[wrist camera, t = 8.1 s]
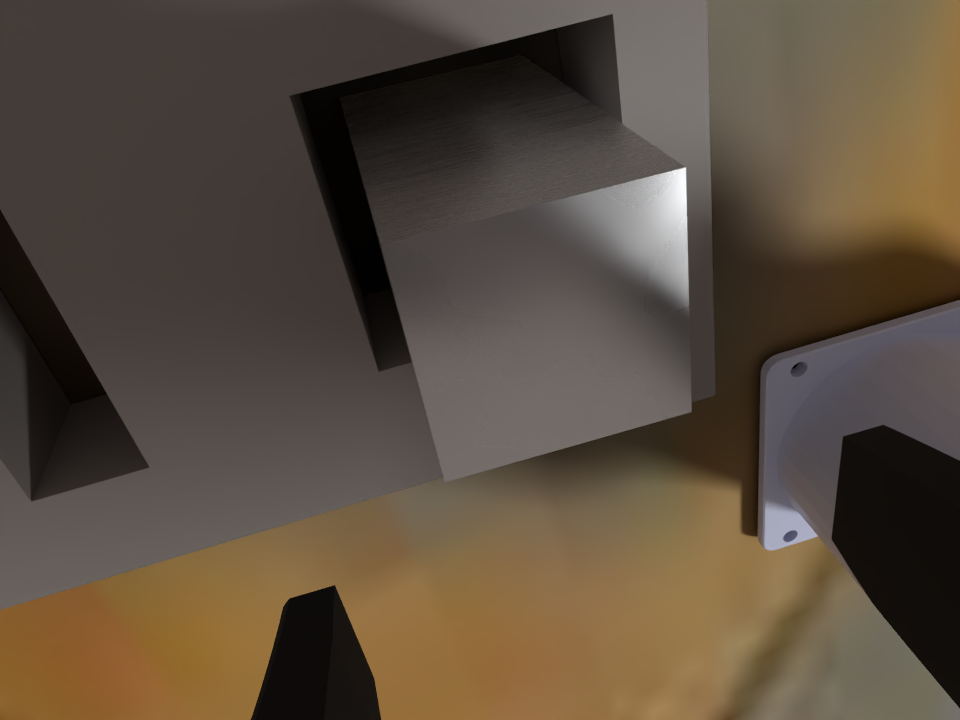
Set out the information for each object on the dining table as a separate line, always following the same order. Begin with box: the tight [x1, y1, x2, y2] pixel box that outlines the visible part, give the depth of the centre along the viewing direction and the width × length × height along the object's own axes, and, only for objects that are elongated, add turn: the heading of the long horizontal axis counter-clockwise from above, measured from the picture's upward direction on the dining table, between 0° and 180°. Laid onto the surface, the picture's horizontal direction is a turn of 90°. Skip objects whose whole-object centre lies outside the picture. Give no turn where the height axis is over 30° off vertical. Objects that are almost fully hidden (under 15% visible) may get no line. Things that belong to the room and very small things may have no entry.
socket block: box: [0, 0, 716, 610], centre depth 15 cm, size 18×12×4 cm, turn 100°
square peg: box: [340, 55, 692, 482], centre depth 14 cm, size 4×4×8 cm
